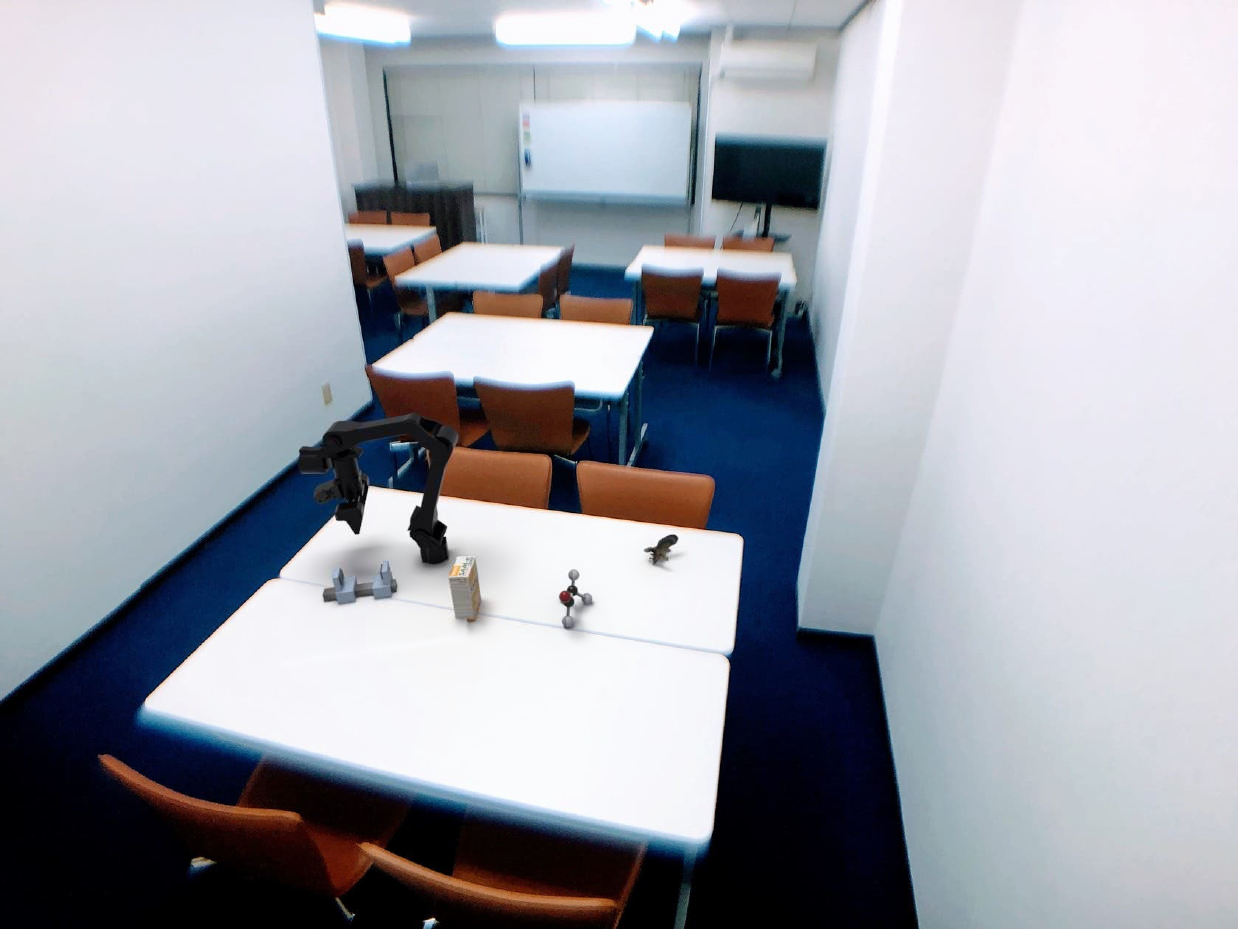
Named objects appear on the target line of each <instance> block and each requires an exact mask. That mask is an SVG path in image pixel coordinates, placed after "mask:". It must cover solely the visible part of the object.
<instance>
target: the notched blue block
mask: <svg viewBox="0 0 1238 929" xmlns="http://www.w3.org/2000/svg"><path fill="white" fill-rule="evenodd" d="M341 568H342V567H341V566H336V567H334V569H333V574H332V577H331V578H332V582H333V586H334V587H335V590H336V593H335V594H336V598H337V600H336V602H337V604H338V605H340V604H341V605H342V604H347V603H348V604H349V603H355V602H356V601H357V597H356V598H355V594H354V591H355V586H356V584H359V583H358V580H357V576H349V577H345V575H344V571H343V569H341Z"/></svg>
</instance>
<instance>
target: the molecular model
mask: <svg viewBox="0 0 1238 929" xmlns="http://www.w3.org/2000/svg"><path fill="white" fill-rule="evenodd" d="M567 576H568V579H569V580H571V582H570V583H571V585H569V586H568V587H567V588H566V590H562V591H561V592H560V593H559V594H558V599H559V600H560V601H561V602H562V604H563V605H564V607H566V613H565V614H566V615H564V616H563V617H562V618H561V624H562V625H563V626H564V627H566V628H569V627H572V626H573V625H574V618H573V617H572V616H571V614H570V613H571V608H572V607H573V606H574V605H575V598H574V597H575V596H576V597H577V596H578V597H579V598H581V599H580V600H581V602H582V603H583V604H584V605H589V604H591V603H592V602H593V596H592V595H591V593H589V592H584V593H580V592H579V590H578V586H576V585H575V584H576V581H577V580H578V579H579V578H580V572H579V570H577V569H570V571H569V572H568V574H567Z"/></svg>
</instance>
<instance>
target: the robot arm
mask: <svg viewBox="0 0 1238 929" xmlns="http://www.w3.org/2000/svg"><path fill="white" fill-rule="evenodd" d="M430 433H431V434H432V435H433V436H432V435H430ZM405 435H406V436H407V435H408V436H410V437H412V438H413V439H414V440H415V441H416V442H417V443H418V444H419V445H420V446H421V447H422V448H424V449H426V450H427V451H428V458H429V459H428V460H429V469H428V472H427V473H428V474H427V477H426V482H425V486H424V490H423V495H422V499H421V503H420V506H419V505H418V504H417V505H415V507H414V509H413V512H412V513H411V516H410V517H409V518H410V519H409V525H408V527H407V530H406V531H408V532H409V533H408V534H409V538H410V539H412V540H413V542H415V544H416V545H417V547H419V553H420V558H421V563H424V564H430V565H439V564H442V563H444V562H445V561H448V560H449V559H450V553H449V552H450V551H449V546H448V541H447V536H445V534H446V533H447V531H448V526H447V524H445V523H443V521H441V520H440V519H439V512H438V502H439V498H440V494H441V490H442V485H443V482H444V477H445V473H446V469H447V465H448V462H449V460H450V458H451V456H452V454H453V452H454V449H455V447H456V445H457V443H458V440H459V433H458V432H457V430H455V428H453V426H449V425H445V424H444V423H442V422H440V421H438V420H436V419H432V418H427V417H424V416H422V415H421V414H419V413H417V412H410V413H407V414H404V415H398V416H393V417H387V418H380V419H377V420H376V419H375V420H370V421H365V422H357V421H354V420H337V421H334V422H333V423H332V424H331V425H330V426H329V428H328V429H327V430H326V431H325V432H324V433H323V435H322V443H323V444H322V446H308V445H305V446H304V445H303V446H301V447H300V448H299V450H298V453H299V454H298V458H297V459H298V462H297V463H298V464H297V468H298V470H299V472H300V473H301V474H303V475H306V474H307V475H309V474H313V475H314V474H327V473H328V472H329V470H331V469H333V474H334V479H330V480H328V481H326V482H324V483H321V484H319V485H317V486H316V487H315V489H314V491H313V498H314V502H315V503H318V504H320V505H324V504H326V503H328V502H330V501H332V500H334V499H336V500H337V501H342V500H343V499H344V500H347V502H346V501H345V502H339V503H338V504H337V505H336V507H335V511H334V517H335V521H336V522H346V524H347V525H348V527H349V528H350V529H351V532H353V533H354V535H355V536H356V535H360V534H361V528H362V524H363V521H364V520H363V519H364V515H365V507H366V502H367V498H368V493H369V492H368V491H369V487H370V479H369V475H368V474H366V473H364V472H362V470H361V469H359V465H358V460H357V459H359V458H360V457H361V456H362V454H363V453H364V449H363V448H362V447H359V446H358V445H360V444H362V443H364V442H371V441H377V440H383V439H389V438H394V437H399V436H405Z"/></svg>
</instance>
